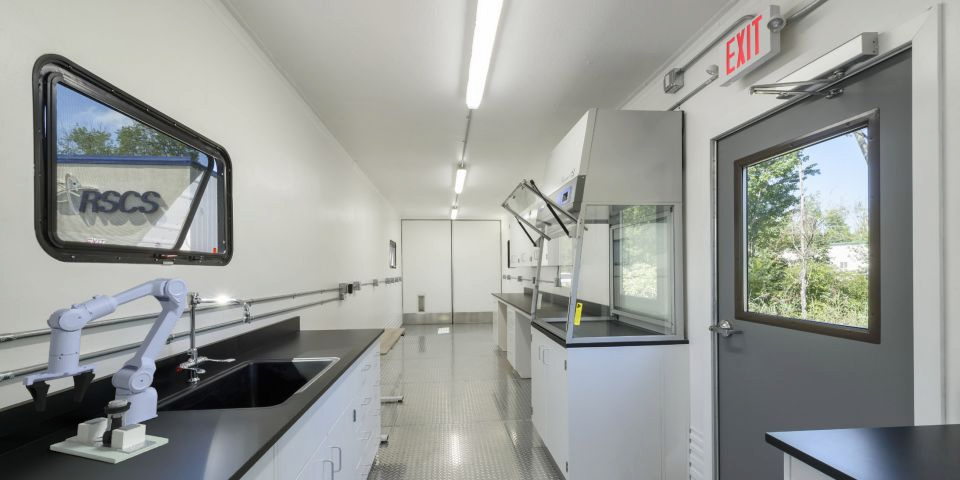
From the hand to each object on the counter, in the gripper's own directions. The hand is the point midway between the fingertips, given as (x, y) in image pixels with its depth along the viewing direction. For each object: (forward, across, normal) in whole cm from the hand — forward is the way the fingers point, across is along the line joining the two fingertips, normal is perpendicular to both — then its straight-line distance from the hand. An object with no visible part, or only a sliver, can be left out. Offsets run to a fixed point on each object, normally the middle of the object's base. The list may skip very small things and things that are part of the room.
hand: (59, 405), depth 105 cm
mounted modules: (+8, +3, -16) cm, 18 cm away
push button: (+8, +2, -17) cm, 19 cm away
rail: (+9, +3, -16) cm, 19 cm away
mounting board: (+9, +3, -16) cm, 19 cm away
